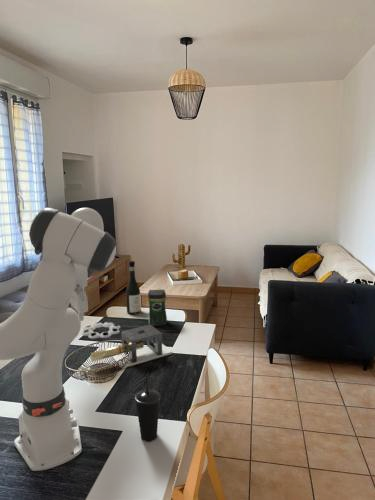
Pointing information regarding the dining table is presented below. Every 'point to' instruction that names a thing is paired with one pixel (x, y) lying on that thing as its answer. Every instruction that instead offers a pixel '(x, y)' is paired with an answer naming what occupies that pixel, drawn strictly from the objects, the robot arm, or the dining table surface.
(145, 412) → the drinking cup
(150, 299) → the coffee jar
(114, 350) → the brass air tube
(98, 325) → the grey looped trivet
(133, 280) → the wine bottle
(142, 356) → the grey base plate
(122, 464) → the dining table surface
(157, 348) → the iron frame
